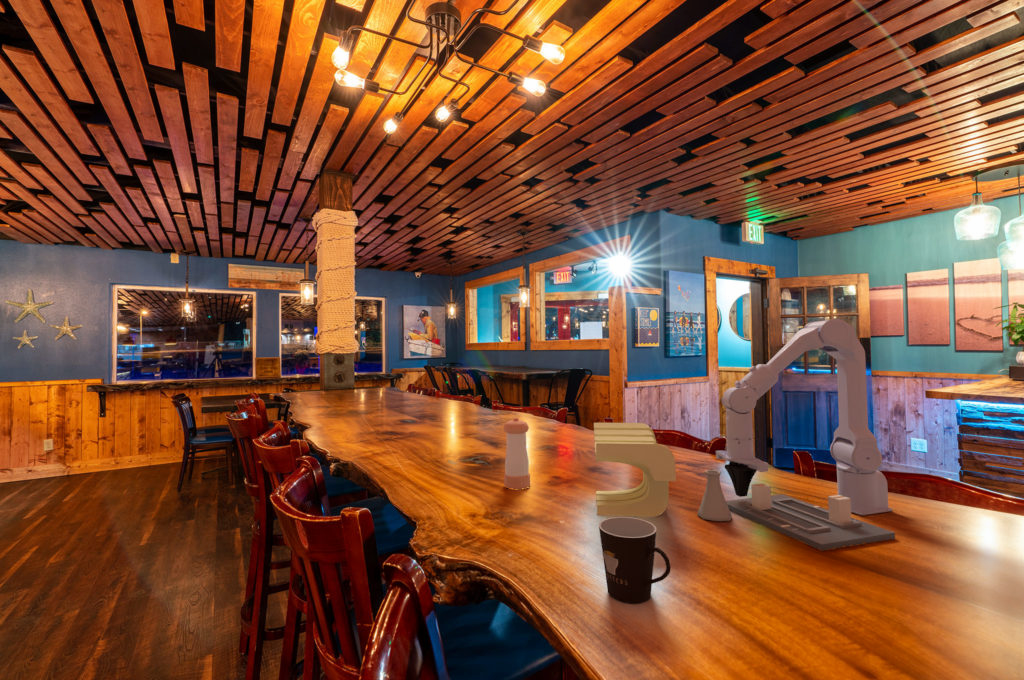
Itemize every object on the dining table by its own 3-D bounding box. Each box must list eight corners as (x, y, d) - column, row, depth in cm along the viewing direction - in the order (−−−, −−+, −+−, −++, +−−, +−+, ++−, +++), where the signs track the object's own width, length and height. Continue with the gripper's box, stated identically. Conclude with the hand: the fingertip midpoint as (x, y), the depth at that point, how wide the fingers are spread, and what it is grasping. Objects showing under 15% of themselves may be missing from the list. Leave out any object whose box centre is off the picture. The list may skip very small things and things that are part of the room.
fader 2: (840, 519, 96) (839, 494, 96) (851, 523, 93) (850, 497, 93) (828, 520, 95) (827, 495, 95) (840, 524, 92) (838, 499, 93)
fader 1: (762, 505, 105) (762, 482, 105) (771, 508, 103) (770, 485, 103) (752, 506, 104) (751, 484, 104) (760, 510, 102) (759, 486, 102)
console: (782, 499, 114) (782, 491, 114) (895, 538, 88) (894, 529, 89) (721, 506, 109) (721, 499, 109) (822, 551, 84) (821, 541, 84)
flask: (736, 523, 98) (734, 476, 98) (700, 521, 99) (699, 475, 100) (727, 512, 105) (726, 468, 105) (694, 510, 107) (692, 467, 107)
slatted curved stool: (677, 531, 94) (674, 444, 95) (598, 528, 97) (596, 443, 97) (655, 489, 124) (653, 422, 124) (595, 487, 126) (593, 422, 127)
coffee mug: (594, 580, 74) (592, 518, 75) (645, 577, 75) (644, 515, 75) (616, 622, 63) (614, 547, 63) (677, 618, 63) (675, 544, 64)
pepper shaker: (530, 490, 125) (529, 419, 126) (503, 490, 125) (502, 419, 126) (529, 482, 132) (528, 415, 133) (504, 483, 132) (503, 416, 133)
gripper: (704, 434, 116) (706, 488, 115) (748, 444, 102) (751, 506, 101) (728, 432, 117) (730, 486, 117) (774, 442, 103) (777, 503, 103)
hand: (741, 495), depth 109 cm, fingers closed
